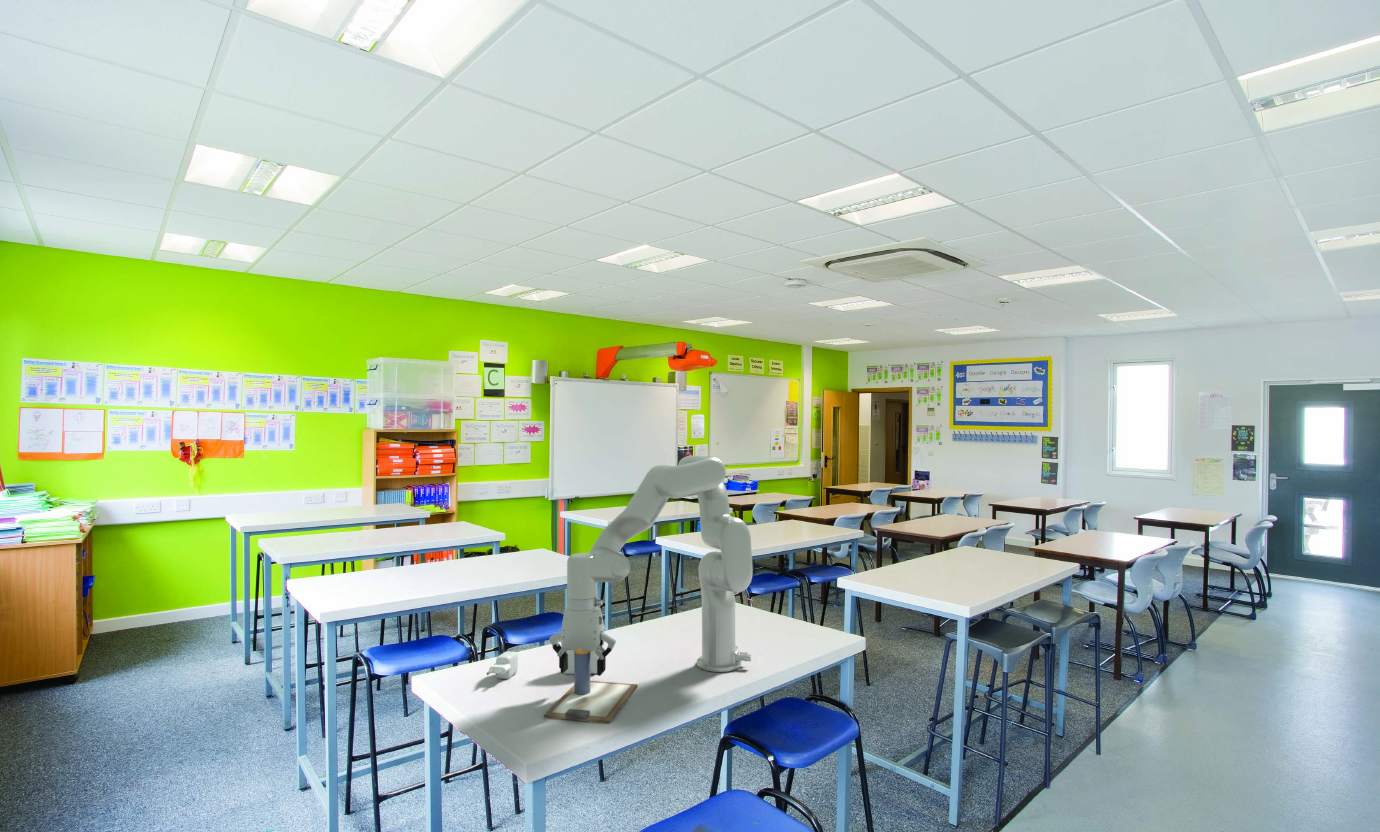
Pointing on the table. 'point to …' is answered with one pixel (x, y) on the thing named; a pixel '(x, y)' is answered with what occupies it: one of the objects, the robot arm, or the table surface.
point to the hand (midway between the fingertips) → (582, 672)
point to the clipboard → (592, 702)
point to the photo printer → (571, 662)
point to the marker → (582, 671)
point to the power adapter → (505, 665)
